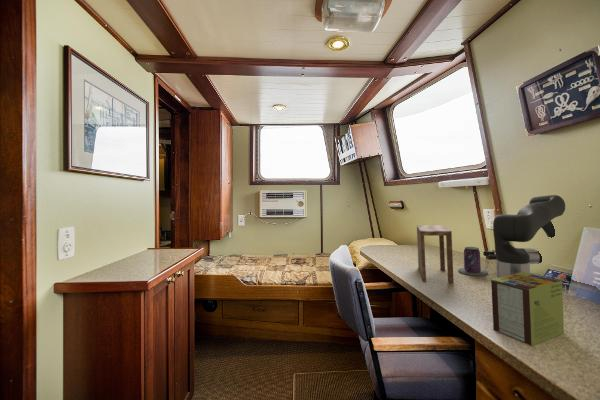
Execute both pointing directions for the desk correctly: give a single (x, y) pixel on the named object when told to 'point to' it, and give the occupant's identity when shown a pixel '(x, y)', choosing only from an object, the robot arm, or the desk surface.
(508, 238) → the robot arm
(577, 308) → the desk surface
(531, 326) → the protein box
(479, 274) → the charcoal mat
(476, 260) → the beverage can
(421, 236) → the walnut shelf
